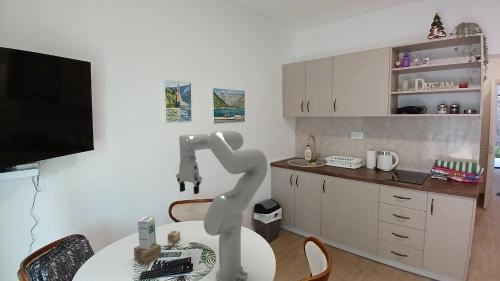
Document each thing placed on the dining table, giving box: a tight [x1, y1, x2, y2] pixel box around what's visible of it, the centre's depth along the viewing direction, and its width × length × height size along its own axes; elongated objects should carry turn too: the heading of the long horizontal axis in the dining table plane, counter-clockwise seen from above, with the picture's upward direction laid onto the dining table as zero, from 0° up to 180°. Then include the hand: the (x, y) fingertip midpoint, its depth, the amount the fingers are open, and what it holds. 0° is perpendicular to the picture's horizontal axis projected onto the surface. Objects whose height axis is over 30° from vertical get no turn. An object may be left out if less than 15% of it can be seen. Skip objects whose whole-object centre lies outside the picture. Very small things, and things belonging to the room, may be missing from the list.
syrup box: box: [137, 215, 157, 250], centre depth 130 cm, size 6×6×14 cm
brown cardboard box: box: [133, 243, 162, 266], centre depth 131 cm, size 9×9×6 cm
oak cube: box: [167, 230, 181, 245], centre depth 148 cm, size 5×5×5 cm
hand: (189, 192), depth 133 cm, fingers open, 9 cm apart
